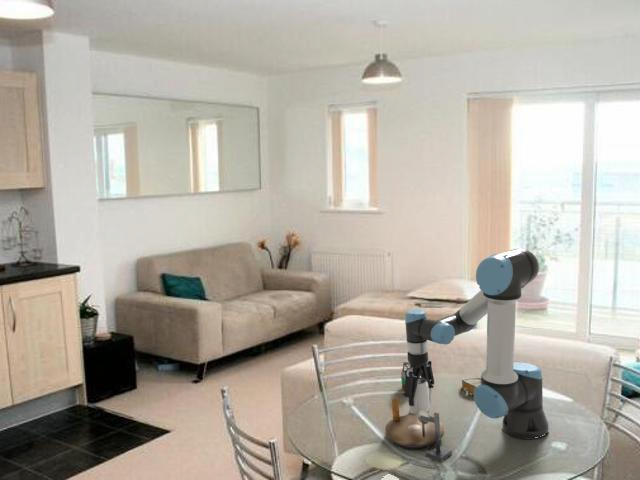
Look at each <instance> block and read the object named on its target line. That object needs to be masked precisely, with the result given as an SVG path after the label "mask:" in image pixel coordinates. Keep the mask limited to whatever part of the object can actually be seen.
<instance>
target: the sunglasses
mask: <svg viewBox="0 0 640 480" xmlns="http://www.w3.org/2000/svg"><path fill="white" fill-rule="evenodd" d="M469 380H473V381H474V380H478V381H479V380H480V381H481V377H466V378H464V377H462V378H461V387H462V390H463V392H464V391H466V392H467V394H468V393H471V394H474V390H475V388H477V386H478V385H476V384H473V383H471V382H469Z"/></svg>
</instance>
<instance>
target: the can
mask: <svg viewBox="0 0 640 480" xmlns="http://www.w3.org/2000/svg"><path fill="white" fill-rule="evenodd" d="M414 397H416V405H417V414H416V415H418V413H419V412H420V411H421V410H425V411H427V412H428V413H429V411H430V405H429V390H428V383H427V380H426V379H425V378H421V377H420V378H419V380H418V382H417V387H416V392H415V396H414Z"/></svg>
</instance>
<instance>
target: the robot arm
mask: <svg viewBox="0 0 640 480" xmlns="http://www.w3.org/2000/svg"><path fill="white" fill-rule="evenodd" d="M539 266H540V264H539V261H538V258H537V257H536V256H535V254H534V253H533V252H531V251H529V250H528V249H524V248H514V249H510V250H508V251H504V252H500V253H495V254H492V255H490V256H488V257H485V258H484V259H483V260H481V261H480V263H479V264H478V266H477V268H476V271H475V272H476V273H475V280H476V284H477V285H478V286H479V289H480V290H479V291H478V292H477V293H476V294H475V295H474V296H472V297H471V298H470V299H469V300H467V302H466V303H465V304H464V305H462V306H461V307H460V308H459V309H458V310H457V311H456V312H455V313H453V314H451V315H448V316H445V317H443V318H439V319H436V320H435V319H430V318H427V313H426V311H425V310H424V309H423V310H422V309H409V310H408V311H406V313H405V319H404V320H405V323H404V324H405V334H406V335H405V337H406V347H407V348H406V349H407V361H408V362H409V363H410V370H408V371H407V370H406V371H405V376H406V377H405V392H404V395H403V396H404V397H405V398H408V406H409V413H410V414H412V415H418V414H417V405H416V397H414V396H415V392H416V387H417V382H418V380H419V378H425V379H426V380H427V383H428V390H429V406H431V405H432V389H434V385H435V379H434V377H435V376H434V372H433V368H432V367H433V366H432V365H433V364H432V361H431V360H429V347H428V342H433V343H435V344H439V345H445V346H446V345H449V344H451V343H452V341H453V340H454V339H455V337H457V336H459V335H462V334H464V333H468V332H470V331H471V330H473V329H475V327H476V326H477V323H478V322H479V321H480V320H482V319H483V318H484V317H485V316H487V318H486V320H487V321H486V356H485V357H486V360H485V362H486V363H485V364H486V365H485V369H484V370H482V371H481V374H480V378H481V380H480V384H479V385H476V386H477V388H475V390H474V396H473V401H474V403H475V405H476V407H477V408H478V410H479V411H480V412H481V413H482V414H483V415H485V416H486V417H487V418H490V419H499V418H502V417H503V419H502V430H503V431H504V433H505V434H507V435H508V436H511V437H513V438H516V439H520V438H524V439H523V440H528V439H527V438H535V437H540V436H542V435H544V434H546V433H547V432H548V430H549V431H550V429H549V422H548V419H547V416H546V413H545V410H544V408H543V407H544V406H543V404H544V403H543V401H544V400H543V399H544V398H543V395H544V394H543V379H544V378H543V374H542V371H543V370H542V369H541V368H540V367H539V366H537V365H535V364H532V363H528V362H517V361H516V362H515V337H516V310H517V309H516V308H517V305H516V304H517V301H519V300H520V299H521V298H522V289H523V288H525V287H527V285H529V283H531V282H533V281H534V280H535V279H536V277H537V276H538V273H539V270H540V269H539V268H540V267H539ZM413 375H414V376H416V377H414V376H413ZM548 433H549V432H548ZM525 438H526V439H525Z"/></svg>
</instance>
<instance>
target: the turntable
mask: <svg viewBox="0 0 640 480" xmlns="http://www.w3.org/2000/svg"><path fill="white" fill-rule="evenodd" d="M399 401H400V400H399V397H391V411H392V419H391V420H389V421H388V422H387V423H386V425H385V427H384V428H385V430H384V431H385V436H386V437H387V439H389V440H390V441H391V442H392V441H393V442H395V443H398V444H401V445H407V446H422V445H428V444H431V443H434V442H435V424H434V423H433V422H429V423H427V424H424V426H425V437H423V434H422V423H421V422H420V421H419V419H418V414H405V415H401V416H400V404H399V403H400V402H399ZM439 423H440V440H441V439H442V438H443V437H444V435H445V427H444V424H443V423H442V421H441V420H439ZM393 442H392V443H393Z"/></svg>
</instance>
